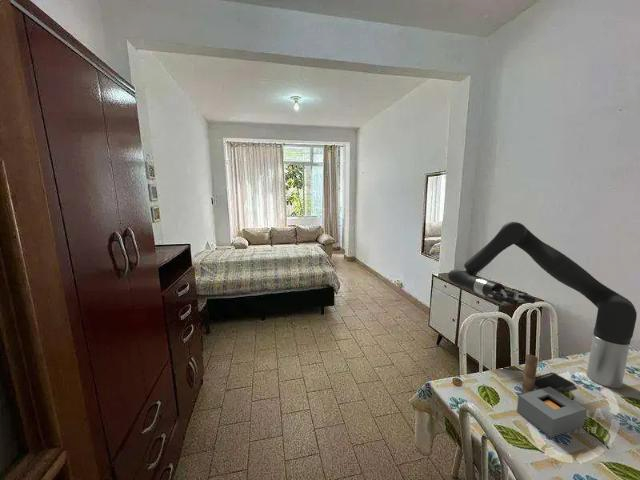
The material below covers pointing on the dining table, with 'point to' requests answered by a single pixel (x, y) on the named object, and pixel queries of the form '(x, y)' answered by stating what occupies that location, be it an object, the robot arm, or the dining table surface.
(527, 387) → the brown wooden rod
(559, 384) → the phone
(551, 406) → the button
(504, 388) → the dining table surface
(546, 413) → the box
